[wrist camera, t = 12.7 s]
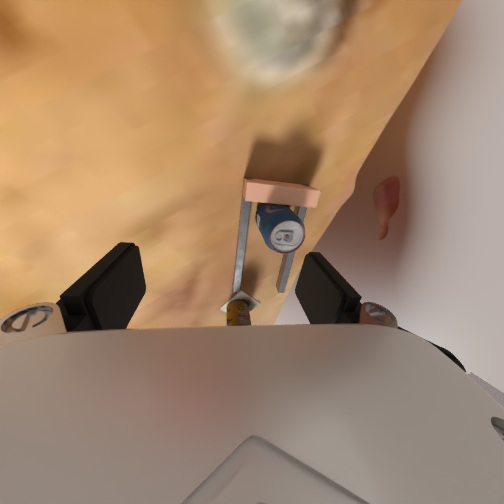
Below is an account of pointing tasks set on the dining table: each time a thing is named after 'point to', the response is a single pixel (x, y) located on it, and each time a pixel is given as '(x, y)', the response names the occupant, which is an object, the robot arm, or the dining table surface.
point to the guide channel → (241, 243)
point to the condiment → (239, 309)
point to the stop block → (280, 193)
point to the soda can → (280, 227)
